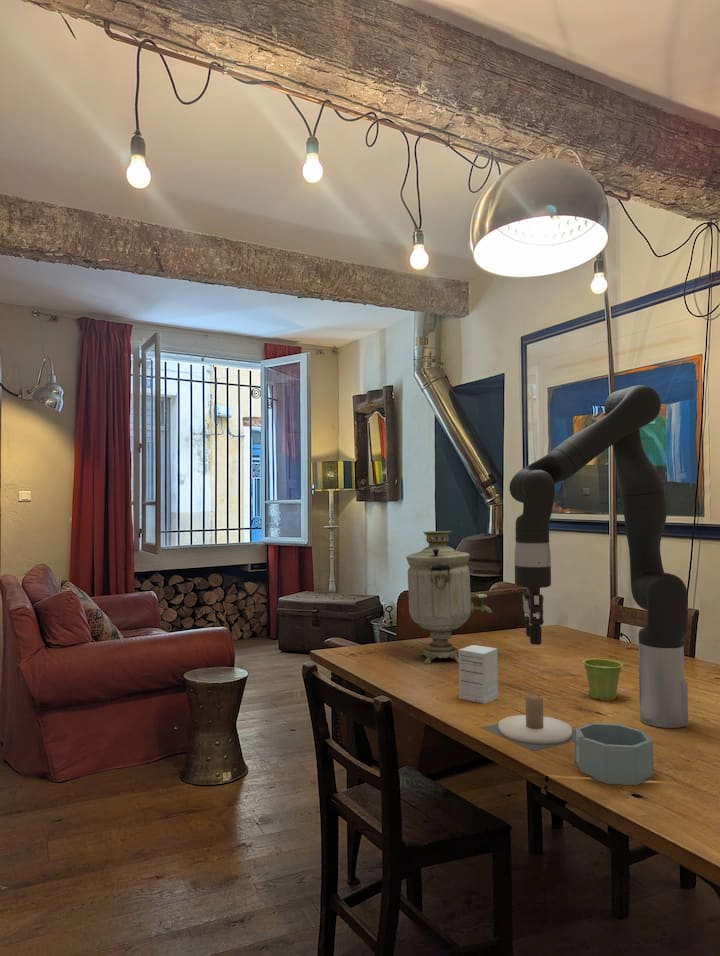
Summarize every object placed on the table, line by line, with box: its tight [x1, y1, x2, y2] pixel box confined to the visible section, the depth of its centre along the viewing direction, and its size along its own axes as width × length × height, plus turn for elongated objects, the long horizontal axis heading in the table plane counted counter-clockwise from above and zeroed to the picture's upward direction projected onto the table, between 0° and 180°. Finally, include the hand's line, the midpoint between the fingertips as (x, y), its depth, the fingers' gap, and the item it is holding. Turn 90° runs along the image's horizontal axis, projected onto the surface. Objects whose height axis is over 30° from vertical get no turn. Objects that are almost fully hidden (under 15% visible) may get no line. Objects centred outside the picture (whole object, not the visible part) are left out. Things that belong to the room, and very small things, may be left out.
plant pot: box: [582, 658, 624, 702], centre depth 170 cm, size 9×9×9 cm
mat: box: [480, 723, 575, 752], centre depth 143 cm, size 16×16×1 cm
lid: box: [498, 694, 573, 744], centre depth 143 cm, size 15×15×7 cm
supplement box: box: [458, 644, 499, 705], centre depth 169 cm, size 7×7×13 cm
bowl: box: [574, 722, 654, 787], centre depth 124 cm, size 13×13×6 cm
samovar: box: [405, 530, 493, 664], centre depth 212 cm, size 30×26×40 cm
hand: (533, 640), depth 144 cm, fingers open, 8 cm apart
